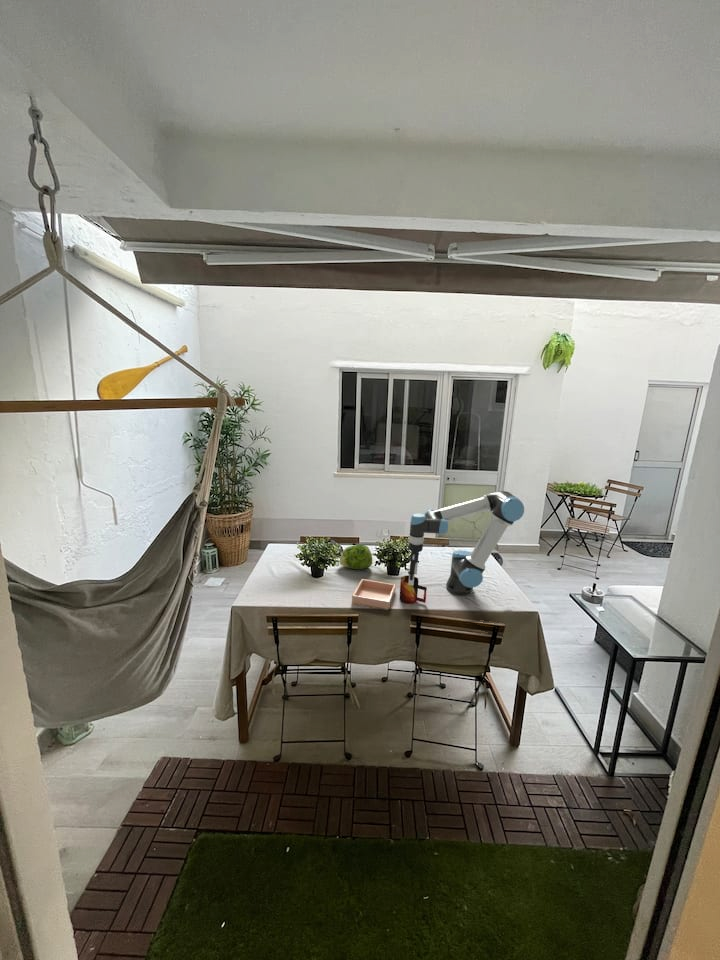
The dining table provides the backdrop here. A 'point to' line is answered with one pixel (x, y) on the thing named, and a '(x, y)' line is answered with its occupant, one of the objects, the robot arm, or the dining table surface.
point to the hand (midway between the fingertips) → (412, 579)
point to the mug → (410, 591)
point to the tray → (374, 594)
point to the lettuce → (356, 557)
